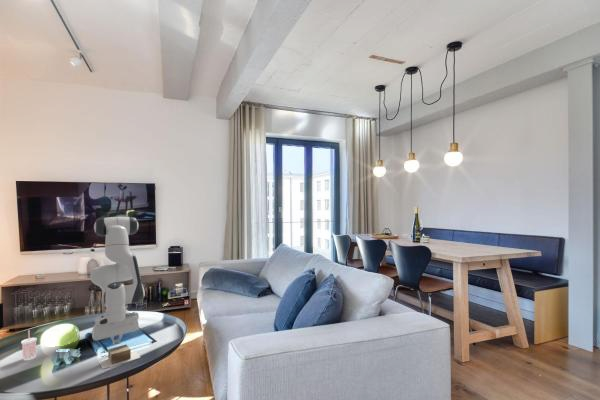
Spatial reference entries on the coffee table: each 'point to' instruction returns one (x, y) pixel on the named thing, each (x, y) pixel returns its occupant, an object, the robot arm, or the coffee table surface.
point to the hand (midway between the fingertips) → (116, 343)
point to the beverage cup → (29, 347)
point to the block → (119, 354)
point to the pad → (108, 364)
